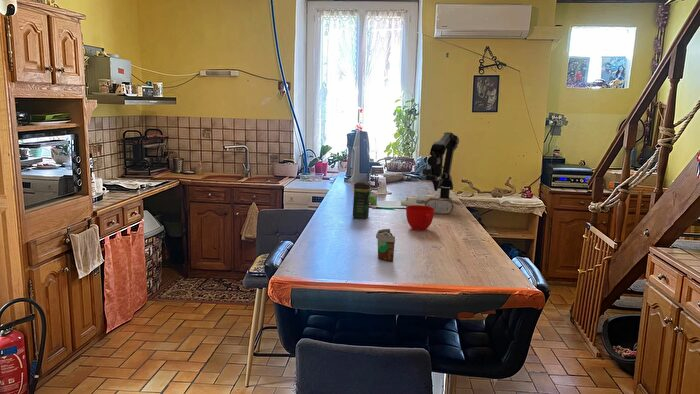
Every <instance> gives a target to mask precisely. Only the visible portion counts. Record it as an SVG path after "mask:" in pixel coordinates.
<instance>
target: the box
mask: <svg viewBox="0 0 700 394" xmlns="http://www.w3.org/2000/svg"><path fill="white" fill-rule="evenodd" d="M418 203H419V202H418ZM418 203H417V201H416V203H412V202H408V199H407V198H406V199H404V200H401V201H400V205H401V204H402V205H401V206H405V205H407V206H412V205H421V206H425V203H426V202H424V204H423V203H421V202H420V203H421V204H418ZM407 206H406V207H407Z"/></svg>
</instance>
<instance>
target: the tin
mask: <svg viewBox="0 0 700 394" xmlns="http://www.w3.org/2000/svg"><path fill="white" fill-rule="evenodd" d="M425 206H429V207H432V208H434V215H435V214H436V215H449V214H451V213H452V212H453V210H454V203H453V201H452V199H445V198H438V197H435V198H429V199H428V200H427V201H426V203H425Z"/></svg>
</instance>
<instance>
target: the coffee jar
mask: <svg viewBox="0 0 700 394" xmlns="http://www.w3.org/2000/svg"><path fill="white" fill-rule="evenodd" d="M370 192H371V183H370V182H369V181H368V180H359V181H356V182H355V183H354V184H353V199H352V201H353V203H352V205H353V206H352V218H353V219H354V218H355V219H358V220H361V219H364V220H365V219H367V218H368V217H369V215H370V204H369V198H370Z"/></svg>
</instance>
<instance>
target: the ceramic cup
mask: <svg viewBox="0 0 700 394" xmlns="http://www.w3.org/2000/svg"><path fill="white" fill-rule="evenodd" d="M405 207H406V208H405V209H406V210H405V212H406V213H405V216H406V220H407V223H408V224H409V226H410V228H411V229H412V230H413V231H426V230H427V229H428V228H429V227H430V226H431V224H432V223H433V219H434V215H435V214H434V208H432V207H429V206H421V205H412V206H405Z"/></svg>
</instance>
